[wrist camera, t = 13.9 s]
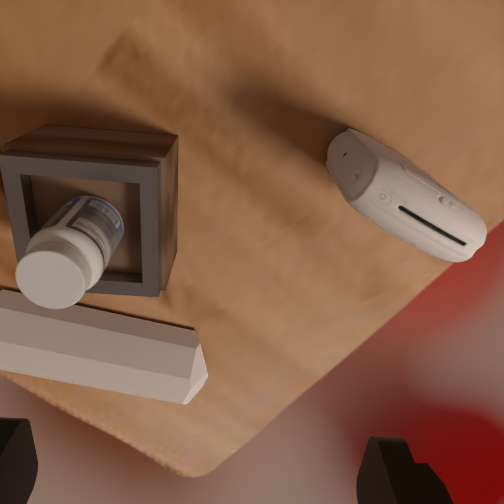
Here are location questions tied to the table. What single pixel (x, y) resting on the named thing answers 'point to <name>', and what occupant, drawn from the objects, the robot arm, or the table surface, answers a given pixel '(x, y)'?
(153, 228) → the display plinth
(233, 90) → the table surface
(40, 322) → the crystal
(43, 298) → the pill bottle
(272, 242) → the table surface
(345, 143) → the photo printer
